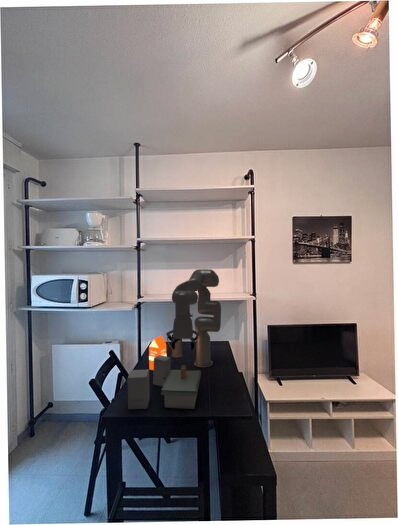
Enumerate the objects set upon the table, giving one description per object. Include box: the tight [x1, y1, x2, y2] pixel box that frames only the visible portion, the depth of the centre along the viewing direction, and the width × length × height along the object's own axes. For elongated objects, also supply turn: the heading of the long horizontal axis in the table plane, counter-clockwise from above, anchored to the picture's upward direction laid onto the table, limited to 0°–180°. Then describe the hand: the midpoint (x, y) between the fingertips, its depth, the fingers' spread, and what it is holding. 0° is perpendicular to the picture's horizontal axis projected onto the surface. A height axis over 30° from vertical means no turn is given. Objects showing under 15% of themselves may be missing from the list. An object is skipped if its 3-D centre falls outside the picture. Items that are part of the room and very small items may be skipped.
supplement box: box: [127, 369, 151, 410], centre depth 122 cm, size 9×9×15 cm
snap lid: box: [160, 364, 202, 396], centre depth 128 cm, size 22×16×7 cm
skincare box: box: [152, 355, 172, 387], centre depth 142 cm, size 8×6×15 cm
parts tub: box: [163, 386, 200, 410], centre depth 128 cm, size 20×14×8 cm
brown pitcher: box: [166, 333, 184, 358], centre depth 187 cm, size 9×14×15 cm, turn 53°
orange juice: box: [148, 335, 168, 371], centre depth 164 cm, size 8×9×20 cm
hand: (183, 349), depth 131 cm, fingers open, 9 cm apart
